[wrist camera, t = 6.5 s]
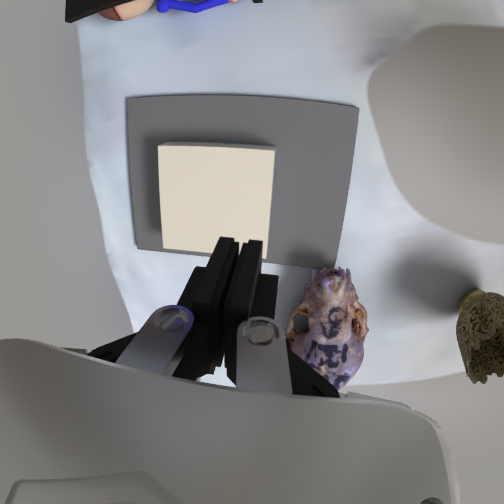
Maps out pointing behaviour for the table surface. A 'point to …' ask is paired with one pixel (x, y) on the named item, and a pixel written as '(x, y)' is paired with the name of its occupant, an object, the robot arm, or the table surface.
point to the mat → (285, 168)
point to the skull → (330, 327)
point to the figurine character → (132, 7)
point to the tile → (214, 193)
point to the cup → (481, 334)
